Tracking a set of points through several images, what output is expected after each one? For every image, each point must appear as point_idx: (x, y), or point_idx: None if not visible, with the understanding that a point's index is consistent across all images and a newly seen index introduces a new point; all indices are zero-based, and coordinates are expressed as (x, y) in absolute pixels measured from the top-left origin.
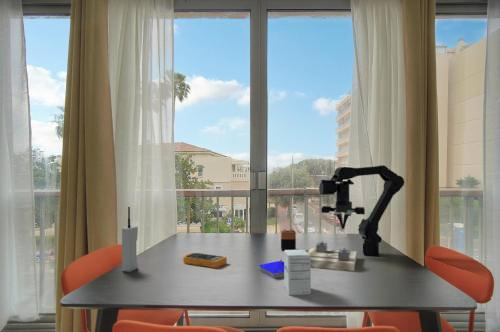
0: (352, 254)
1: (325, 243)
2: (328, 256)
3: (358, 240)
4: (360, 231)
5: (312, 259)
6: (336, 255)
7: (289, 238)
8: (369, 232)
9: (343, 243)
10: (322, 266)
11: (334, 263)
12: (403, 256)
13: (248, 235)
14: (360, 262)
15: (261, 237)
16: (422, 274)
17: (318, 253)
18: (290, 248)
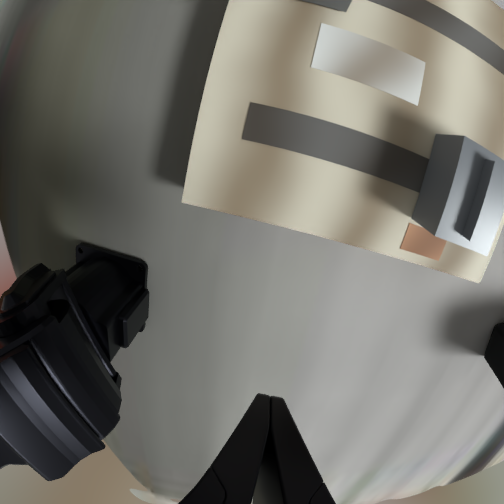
0: (229, 95)
1: (449, 228)
2: (420, 39)
3: (176, 465)
4: (96, 386)
5: (493, 5)
6: (365, 55)
7: None
8: (17, 305)
9: None
10: None
11: None
12: (11, 256)
13: (500, 451)
14: (188, 91)
15: (486, 449)
16: (13, 11)
17: (475, 128)
18: None
